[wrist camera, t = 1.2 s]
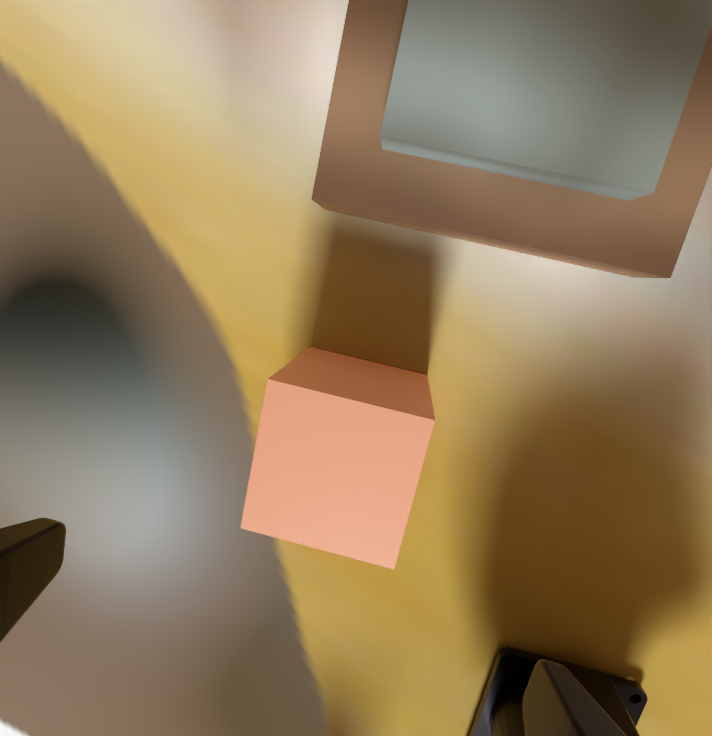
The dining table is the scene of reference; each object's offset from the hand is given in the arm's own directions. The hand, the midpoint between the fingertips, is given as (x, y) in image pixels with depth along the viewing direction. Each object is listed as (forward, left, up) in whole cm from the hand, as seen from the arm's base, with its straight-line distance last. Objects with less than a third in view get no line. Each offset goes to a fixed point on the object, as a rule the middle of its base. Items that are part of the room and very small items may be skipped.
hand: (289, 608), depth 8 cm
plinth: (+14, -3, -12) cm, 18 cm away
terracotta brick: (0, 0, -12) cm, 12 cm away
